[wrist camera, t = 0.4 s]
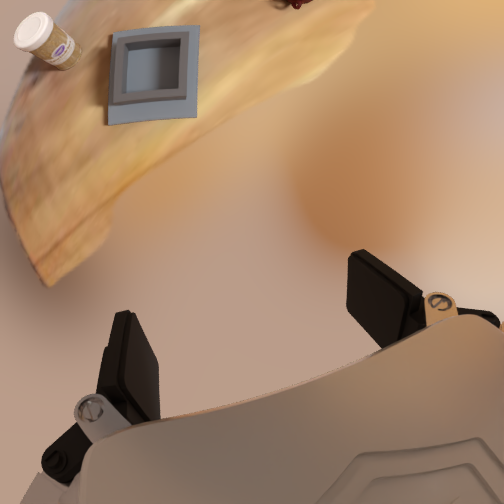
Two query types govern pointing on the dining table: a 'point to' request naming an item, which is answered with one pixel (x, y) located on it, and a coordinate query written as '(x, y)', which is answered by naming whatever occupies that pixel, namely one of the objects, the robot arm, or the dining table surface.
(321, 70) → the dining table surface
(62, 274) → the dining table surface
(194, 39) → the bottle stand
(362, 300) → the robot arm
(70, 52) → the sprinkles bottle
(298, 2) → the cocoa
